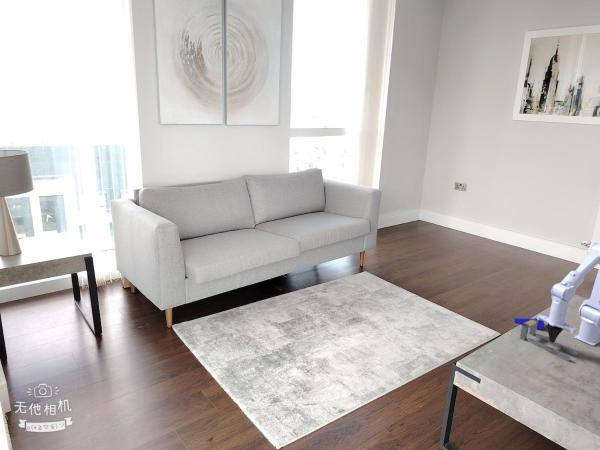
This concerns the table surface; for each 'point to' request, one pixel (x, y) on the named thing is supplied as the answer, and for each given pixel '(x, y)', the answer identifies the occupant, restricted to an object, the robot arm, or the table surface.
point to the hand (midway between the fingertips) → (552, 341)
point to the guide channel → (554, 349)
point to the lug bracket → (526, 325)
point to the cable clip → (523, 320)
